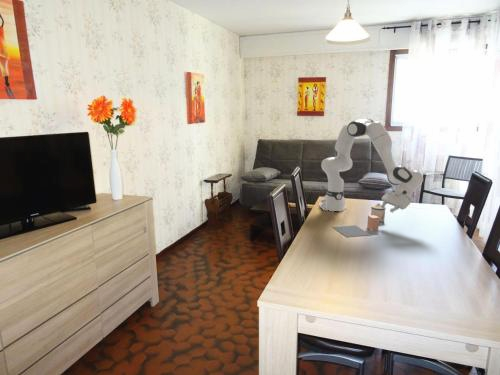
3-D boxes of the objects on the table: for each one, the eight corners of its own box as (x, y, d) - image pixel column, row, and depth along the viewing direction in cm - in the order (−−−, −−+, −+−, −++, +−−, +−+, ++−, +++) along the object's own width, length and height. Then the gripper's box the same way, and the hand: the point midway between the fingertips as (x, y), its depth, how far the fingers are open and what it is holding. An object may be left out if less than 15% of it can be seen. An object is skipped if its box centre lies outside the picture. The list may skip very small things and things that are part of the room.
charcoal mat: (332, 227, 217) (332, 227, 217) (355, 225, 221) (355, 225, 221) (346, 237, 200) (346, 236, 200) (371, 235, 204) (371, 234, 204)
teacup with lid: (384, 222, 227) (386, 205, 224) (370, 221, 230) (371, 204, 227) (384, 217, 238) (385, 201, 235) (370, 216, 241) (371, 200, 238)
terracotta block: (367, 228, 216) (368, 215, 215) (373, 227, 217) (374, 215, 216) (371, 230, 212) (372, 218, 210) (378, 230, 213) (379, 217, 211)
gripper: (388, 186, 223) (373, 202, 223) (409, 193, 203) (393, 210, 203) (394, 192, 225) (379, 208, 225) (415, 200, 205) (399, 217, 205)
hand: (386, 209), depth 214 cm, fingers open, 8 cm apart
